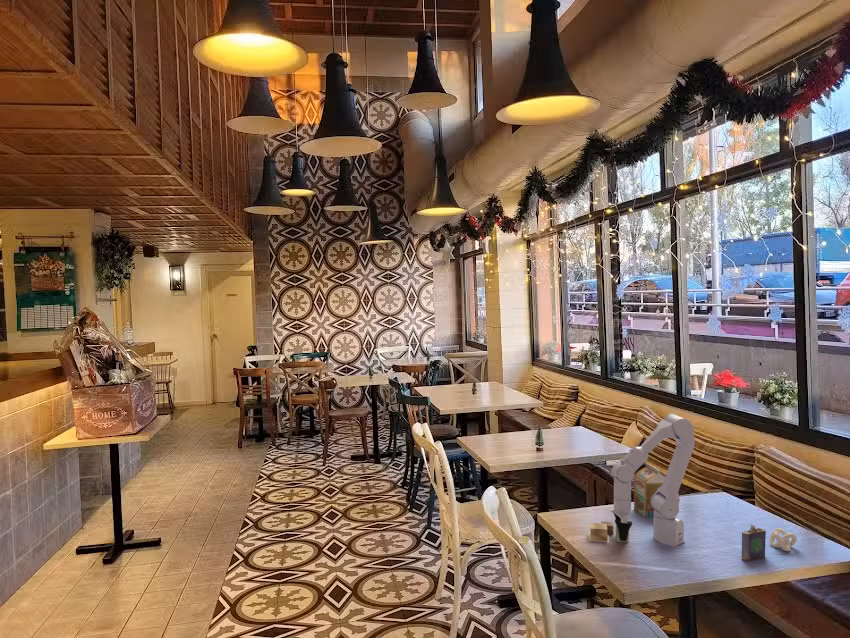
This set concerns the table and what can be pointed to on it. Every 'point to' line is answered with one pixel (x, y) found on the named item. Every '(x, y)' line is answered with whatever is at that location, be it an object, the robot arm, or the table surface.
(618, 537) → the sage block
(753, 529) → the flask
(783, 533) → the knot
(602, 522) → the walnut block
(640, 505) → the milk carton
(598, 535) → the oak block
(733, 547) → the table surface
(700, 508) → the table surface
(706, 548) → the table surface
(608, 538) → the build mat
